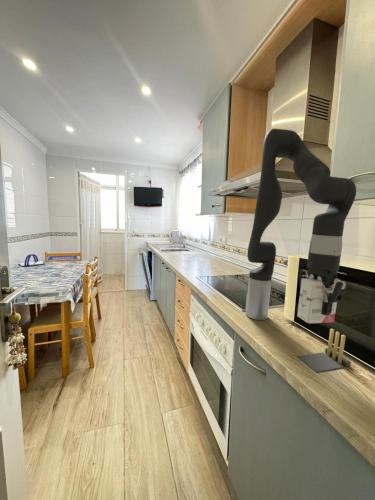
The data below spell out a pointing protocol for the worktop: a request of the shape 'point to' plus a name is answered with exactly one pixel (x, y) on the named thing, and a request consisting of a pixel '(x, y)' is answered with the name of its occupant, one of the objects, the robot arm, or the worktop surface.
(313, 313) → the ink box
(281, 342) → the worktop surface
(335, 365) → the rubber pad
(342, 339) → the pin header
